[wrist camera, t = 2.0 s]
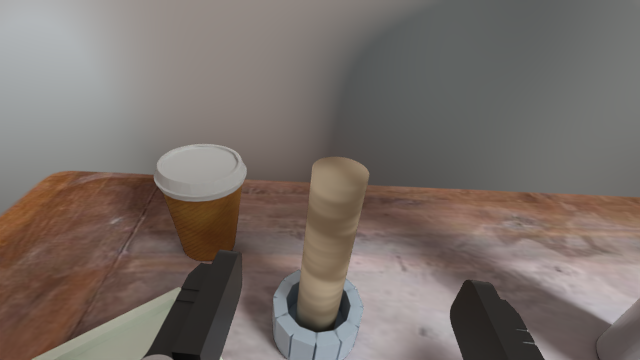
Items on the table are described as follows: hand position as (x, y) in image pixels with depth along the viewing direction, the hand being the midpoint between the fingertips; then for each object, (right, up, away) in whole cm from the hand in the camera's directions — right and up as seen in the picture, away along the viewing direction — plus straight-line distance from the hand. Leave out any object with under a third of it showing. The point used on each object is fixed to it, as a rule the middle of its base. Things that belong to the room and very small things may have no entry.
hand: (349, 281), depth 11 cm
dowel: (-2, -11, +20) cm, 23 cm away
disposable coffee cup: (-15, -5, +29) cm, 33 cm away
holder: (-2, -11, +20) cm, 23 cm away
